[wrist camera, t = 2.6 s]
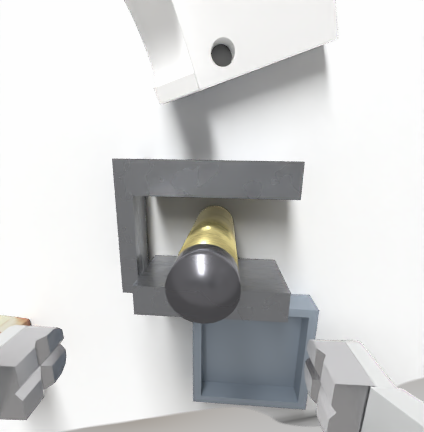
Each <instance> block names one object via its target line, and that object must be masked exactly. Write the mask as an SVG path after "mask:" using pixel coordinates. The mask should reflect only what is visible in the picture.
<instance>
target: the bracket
mask: <svg viewBox="0 0 424 432" xmlns="http://www.w3.org/2000/svg"><path fill="white" fill-rule="evenodd" d="M124 1H125V3H126V5H127V7H128V9H129V11H130V13H131V15H132V17H133V19H134V22H135V24H136V26H137V28H138V31H139V33H140V36H141V38H142V40H143V43H144V46H145V48H146V51H147V54H148V57H149V60H150V63H151V66H152V69H153V73H154V77H155V88H154V90H155V93H156V95H157V98H158V100H159V103H160V104H164V103H168V102H172V101H175V100H178V99H180V98H183V97H186V96H188V95H191V94H194V93H196V92H199V91H202V90H204V89H207V88H210V87H212V86H215V85H218V84H220V83H223V82H226V81H228V80H231V79H234V78H236V77H239V76H241V75H244V74H247V73H249V72H252V71H255V70H257V69H260V68H263V67H265V66H268V65H271V64H273V63H276V62H279V61H281V60H284V59H287V58H289V57H292V56H295V55H297V54H300V53H303V52H305V51H308V50H311V49H313V48H316V47H319V46H321V45H324V44H326V43H329V42H331V41H334V40H336V39H338V28H337V12H336V0H124ZM218 44H224V45H226V46H228V47H229V49H230V51H231V54H232V60H231V63H230V64H229V65H228V66H225V67H220V66H218V65H216V64H215V63H214V62H213V60H212V57H211V51H212V49H213V48H214V47H215V46H216V45H218Z"/></svg>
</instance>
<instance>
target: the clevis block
mask: <svg viewBox="0 0 424 432" xmlns="http://www.w3.org/2000/svg"><path fill="white" fill-rule="evenodd" d="M112 163H113V175H114V188H115V200H116V212H117V225H118V237H119V250H120V262H121V275H122V287H123V292H127V293H133V302H134V314H138V315H157V316H175V317H181V316H180V315H179V314H177V313H176V312H175V311H174V310H173V308H172V307H171V306H170V304H169V302H168V300H167V297H166V293H165V283H166V279H167V276H168V274H169V272H170V270H171V268H172V266H173V264H174V262H175V260H176V258H177V256H162V255H155V256H154V258H153V259H152V260H151V262H150V263H149V262H148V242H147V222H146V202H145V196H162V197H202V198H241V199H281V200H301V192H302V182H303V173H304V163H305V162H284V161H224V160H163V159H112ZM237 259H238V268H239V277H240V286H241V295H240V300H239V303H238V305H237V307H236V308H235V310H234V311H233V312H232V313H231V314H230V315H229V316H227V317H226V318H224V319H231V320H250V321H269V322H287V323H288V316H289V306H290V296H291V293H290V291H289V288H288V286H287V284H286V282H285V280H284V278H283V276H282V274H281V272H280V270H279V268H278V266H277V264H276V262H275V260H264V259H239V258H237Z"/></svg>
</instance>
